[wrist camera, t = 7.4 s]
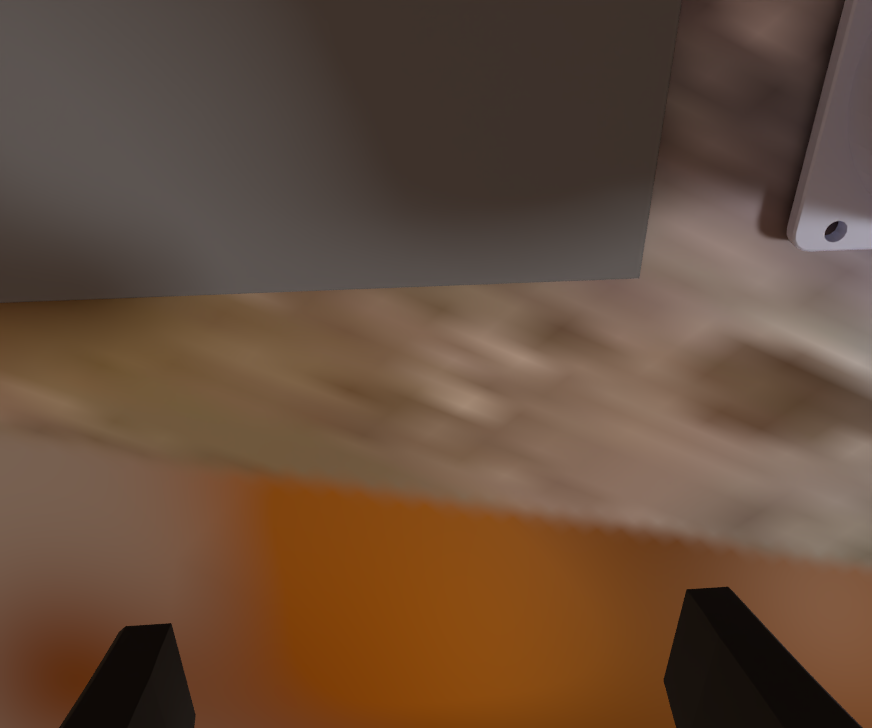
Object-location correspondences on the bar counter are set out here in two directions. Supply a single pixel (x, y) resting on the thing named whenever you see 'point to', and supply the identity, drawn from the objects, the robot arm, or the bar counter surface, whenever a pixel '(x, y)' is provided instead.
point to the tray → (325, 143)
